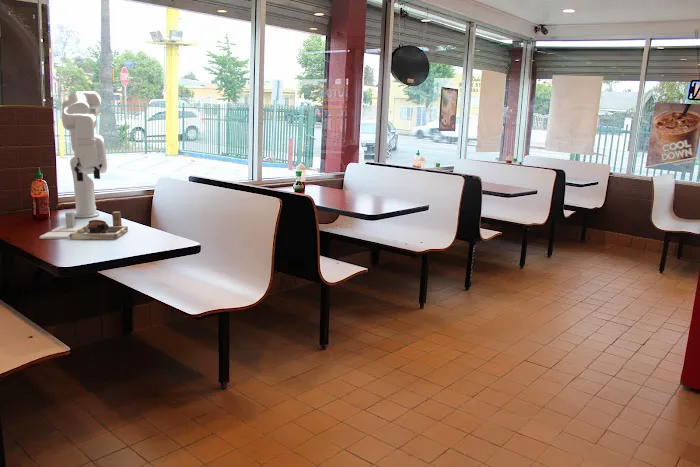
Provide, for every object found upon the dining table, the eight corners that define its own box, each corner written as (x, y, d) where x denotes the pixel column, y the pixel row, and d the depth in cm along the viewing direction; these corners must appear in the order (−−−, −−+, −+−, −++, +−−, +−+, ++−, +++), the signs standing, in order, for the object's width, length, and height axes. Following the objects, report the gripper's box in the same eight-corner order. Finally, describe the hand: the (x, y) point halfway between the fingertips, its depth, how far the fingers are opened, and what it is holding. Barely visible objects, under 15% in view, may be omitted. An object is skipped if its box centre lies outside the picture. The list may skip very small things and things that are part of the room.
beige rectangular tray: (89, 227, 286) (88, 211, 284) (131, 227, 287) (130, 211, 285) (69, 238, 263) (68, 220, 261) (116, 238, 264) (114, 221, 263)
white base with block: (59, 228, 284) (58, 212, 282) (85, 228, 285) (83, 212, 283) (39, 238, 263) (37, 221, 262) (67, 238, 264) (65, 221, 262)
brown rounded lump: (80, 238, 268) (82, 220, 271) (96, 243, 277) (98, 226, 279) (100, 233, 264) (102, 216, 266) (116, 239, 272) (118, 222, 275)
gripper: (94, 141, 279) (97, 177, 283) (63, 143, 264) (67, 181, 268) (106, 141, 276) (109, 178, 280) (76, 143, 261) (79, 182, 265)
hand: (88, 179), depth 274 cm, fingers open, 9 cm apart
